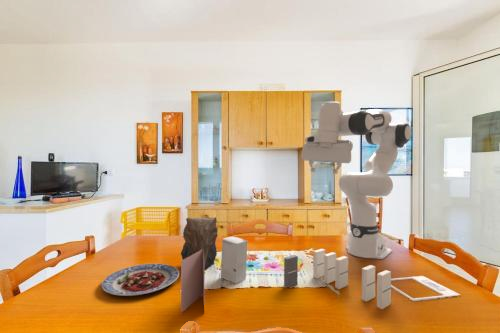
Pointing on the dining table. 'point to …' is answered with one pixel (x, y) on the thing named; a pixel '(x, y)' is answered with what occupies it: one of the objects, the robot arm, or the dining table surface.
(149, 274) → the ceramic plate
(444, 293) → the photo frame
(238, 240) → the skincare box
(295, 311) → the dining table surface
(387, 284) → the domino
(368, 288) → the domino
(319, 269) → the domino
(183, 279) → the greeting card
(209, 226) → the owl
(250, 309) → the dining table surface
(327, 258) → the domino
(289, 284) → the domino
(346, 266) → the domino
